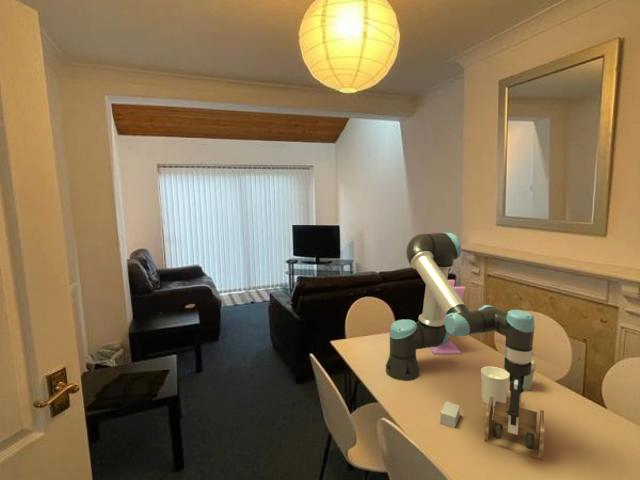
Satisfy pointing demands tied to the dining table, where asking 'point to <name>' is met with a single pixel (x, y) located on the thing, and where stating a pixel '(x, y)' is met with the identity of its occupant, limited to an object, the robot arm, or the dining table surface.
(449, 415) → the block
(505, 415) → the board
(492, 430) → the peg frame
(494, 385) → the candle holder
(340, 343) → the dining table surface
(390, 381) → the dining table surface
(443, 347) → the vase
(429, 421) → the dining table surface
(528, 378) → the coffee cup
